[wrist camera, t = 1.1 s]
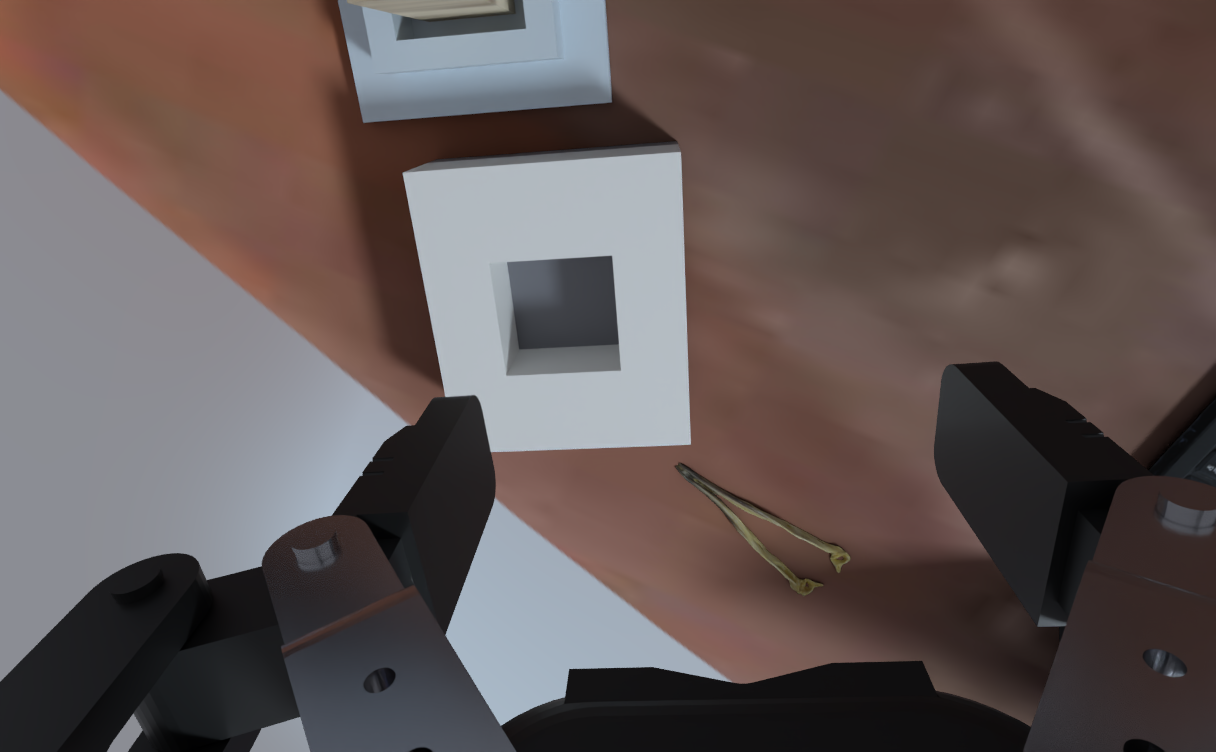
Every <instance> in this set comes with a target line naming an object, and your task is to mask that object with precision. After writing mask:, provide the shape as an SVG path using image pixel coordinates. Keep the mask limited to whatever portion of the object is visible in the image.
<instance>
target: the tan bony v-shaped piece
mask: <svg viewBox="0 0 1216 752" xmlns="http://www.w3.org/2000/svg"><path fill="white" fill-rule="evenodd" d="M676 468H677V470H678V471H679V472H680V474H681V475H682V476H683V477H684V478H685V479H686V480H687V481H688V482H690V483H691V484H692V485H694V486H695V487H696V488H697V489H699V490H700V491H701V492H702V493H704V494H705V495H706V496H707V497H708V498H709V499H710V500H711V501H712V502H714V503H715V504H716V505H717V506H718V507H719V508H720V509H721V511H722V512H723V513H724V514H725V515H726V517H727V518H728V519H729V520H730V521H731V523H732V524H733V526H734V527H735V528H736V530H737V531H738V532H739V533H740V534H741V535H742V536H743V537H744V538H745V539H746V540H747V541H748V543H749V544H750V545H751V546H752V547H753V548H754V549H755V550H756V551H757V552H758V553H759V554H760V555H761V556H762V557H763V558H764V559H765V560H767V561H768V562H769V563H770V564H771V565H773V566H774V567H775V568H776V569H777V570H778V571H779V572H780V573H781V574H782V575H783V576H784V577H785V578H786V579H789V582H790V586H791V588H792V589H793V590H795V591H796V592H797V593H798V594H799V593H800V594H801V595H803V596H805V595H807V594H809V593H811V592H812V591H813V589H814V588H815V587H820V586H822V587H823V584H822V583H816V582H813V581H811V580H810V579H804V580H801V579H799V578H797V577H796V576H795V575H794V574H793V573H792V572H791V571H790V570H789V569H788V568H787V567H786V566H785V565H784V564H783V563H782V562H781V561H780V560H779V559H777V558H776V557H775V556H774V555H772V554H771V553H770V552H768V551H767V550H766V548H765V546H764V545H763V544H762V543H761V542H760V541H759V540H758V538H757V537H756V536H755V535H754V534H753V533H752V532H751V531H750V530H749V529H748V528H747V527H746V526H745V525H744V524H743V523H742V521H741V520H740V519H739V518H738V517H737V516H736V515H735V514H734V513H733V512H732V511H731V510H730V509H729V508H728V507H727V506H726V505H725V504H724V503H723V502H722V501H721V499H718V498H717V497H716V496H715V495H714V494H717V495H720V496H722V497H723V498H724V499H726V500H728V501H729V502H731V503H732V504H734V505H735V506H737V507H739V508H741V509H743V510H744V511H746V512H748V513H750V514H753V515H755V516H757V517H759V518H762V519H765V520H768V521H770V522H771V523H773V524H775V525H778V526H780V527H782V528H784V529H786V530H787V531H788V532H789V533H791V534H792V535H794V536H796V537H797V538H799V539H802V540H805V541H807V542H808V543H810V544H812V545H814V546H816V547H818V548H820V549H822V550H824V551H825V552H827V553H831V557H830V559H831V562H832V563H833V564H834V566H835V568H836V571H837V572H838V573H840V572H841V567H842V565H843V564H845V563H847V562H848V561H850V556H849V555H848V554H847V553H846V552H845V551H843V550H842V548H840V547H839V546H834V545H831V544H828V543H826V542H824V541H822V540H820V539H818V538H816V537H814V536H812V535H811V534H809V533H807V532H805V531H803V530H801V529H799V528H798V527H795V526H793V525H791V524H790V523H788V522H786V521H784V520H781V519H779V518H776V517H774V516H772V515H770V514H768V513H766V512H763V511H761V510H760V509H758V508H756V507H754V506H753V505H752V504H750V503H748V502H745V501H743V500H741V499H739V498H737V497H735V496H733V495H731V494H729V493H728V492H726V491H724V490H722V489H721V488H719V487H717V486H716V485H714V484H713V483H711V482H709V481H708V480H706V479H704V478H703V477H701V476H699V475H698V474H697V473H695V472H694V471H692V470H691V469H689V468H688V467H686V466H685V465H683V464H681V463H679V464H678V465H677V466H676ZM840 556H843V557H844V559H843V560H838V559H835V558H839V557H840ZM806 583H808V585H809V586H808V587H806V586H805V585H806Z"/></svg>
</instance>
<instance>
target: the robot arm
mask: <svg viewBox="0 0 1216 752" xmlns="http://www.w3.org/2000/svg"><path fill="white" fill-rule="evenodd" d="M934 459H935V466H936V470H937V474H938V477H939V479H940V482H941V483H942V485H943V487H944V488H945V490H946V491H947V492H948V494H949V495H950V497H951V498H952V500H953V501H954V503H955V504H956V506H957V507H958V509H959V510H960V512H961V513H962V515H963V516H964V518H965V519H966V521H967V522H968V524H969V525H970V527H971V528H972V530H973V531H974V533H975V534H976V536H977V537H978V539H979V540H980V542H981V543H982V545H983V546H984V548H985V549H986V551H987V552H988V554H989V555H990V557H991V558H992V560H993V561H994V563H995V564H996V566H997V567H998V569H999V570H1000V572H1001V573H1002V575H1003V576H1004V578H1005V579H1006V581H1007V582H1008V584H1009V585H1010V587H1011V588H1012V590H1013V591H1014V593H1015V594H1016V596H1017V597H1018V599H1019V600H1020V602H1021V603H1022V605H1023V606H1024V608H1025V609H1026V610H1027V612H1028V613H1029V615H1030V616H1031V618H1032V619H1033V621H1034V622H1035V624H1036V625H1037V627H1052V626H1065V629H1064V632H1063V635H1062V638H1061V641H1060V644H1059V647H1058V650H1057V653H1056V656H1055V659H1054V662H1053V665H1052V667H1051V670H1050V673H1049V676H1048V679H1047V682H1046V685H1045V688H1044V691H1043V694H1042V697H1041V700H1040V703H1039V706H1038V709H1037V711H1036V714H1035V717H1034V720H1033V723H1032V726H1031V727H1030V726H1028V725H1026V724H1025V723H1023V722H1021V721H1019V720H1017V719H1015V718H1013V717H1011V716H1009V715H1007V714H1005V713H1003V712H1001V711H998V710H996V709H994V708H991V707H989V706H986V705H984V704H981V703H978V702H976V701H973V700H970V699H967V698H963V697H959V696H956V695H952V694H949V693H944V692H939V691H935V689H934V687H933V684H932V682H931V680H930V677H929V675H928V673H927V671H926V668H925V666H924V664H923V662H922V661H899V662H856V663H830V664H826V665H822V666H818V667H814V668H810V669H806V670H802V671H798V672H794V673H790V674H786V675H782V676H778V677H774V678H770V679H766V680H762V681H758V682H754V683H748V684H738V683H731V682H726V681H721V680H716V679H711V678H706V677H700V676H695V675H689V674H685V673H680V672H675V671H669V670H664V669H659V668H654V667H644V668H643V667H642V668H598V669H569V675H568V682H567V689H566V696H565V698H561V699H558V700H553V701H551V702H548V703H545V704H542V705H540V706H537V707H534V708H532V709H530V710H529V711H526V712H524V713H522V714H520V715H518V716H516V717H515V718H513V719H511V720H510V721H508V722H506V723H505V724H503V725H502V726H500V724H499V723H498V721H497V719H496V718H495V716H494V714H493V713H492V711H491V709H490V708H489V706H488V705H487V703H486V701H485V700H484V698H483V696H482V695H481V693H480V692H479V690H478V688H477V687H476V685H475V683H474V682H473V680H472V678H471V677H470V675H469V673H468V672H467V670H466V669H465V667H464V665H463V664H462V662H461V660H460V659H459V657H458V655H457V654H456V652H455V651H454V649H453V647H452V646H451V644H450V643H449V641H448V639H447V637H446V636H445V634H446V631H447V629H448V626H449V623H450V621H451V618H452V615H453V612H454V610H455V606H456V604H457V601H458V599H459V596H460V593H461V591H462V587H463V585H464V582H465V580H466V577H467V574H468V572H469V569H470V566H471V563H472V561H473V558H474V555H475V553H476V550H477V547H478V544H479V542H480V539H481V536H482V534H483V531H484V528H485V525H486V522H487V520H488V517H489V515H490V512H491V509H492V506H493V503H494V499H495V488H496V481H495V471H494V465H493V460H492V455H491V451H490V446H489V441H488V436H487V431H486V426H485V421H484V416H483V411H482V407H481V404H480V401H479V399H478V397H477V396H475V395H468V396H453V397H437V398H433V399H432V400H431V402H430V403H429V405H428V406H427V408H426V409H425V411H424V412H423V414H422V415H421V417H420V418H419V420H418V421H417V423H416V425H412V426H405V427H404V428H403V429H401V430H400V431H398V432H397V433H396V434H394V435H393V436H391V437H390V438H389V439H387V440H386V441H385V442H384V443H383V444H382V446H381V447H380V449H379V450H378V451H377V453H376V454H375V456H374V457H373V462H370V463H369V464H368V465H367V467H366V468H365V470H364V471H363V476H360V477H359V478H358V479H357V481H356V482H355V484H354V485H353V487H352V488H351V489H350V491H349V492H348V494H347V495H346V496H345V498H344V499H343V501H342V502H341V503H340V505H339V506H338V508H337V509H336V511H335V512H334V513H333V515H332V516H328V517H323V518H319V519H315V520H312V521H309V522H306V523H304V524H302V525H300V526H298V527H296V528H294V529H292V530H290V531H288V532H287V533H285V534H284V535H282V536H281V537H280V538H279V539H277V540H276V541H275V542H274V543H273V544H272V545H271V546H270V547H269V549H268V550H267V551H266V553H265V555H264V557H263V560H262V566H261V567H258V568H254V569H250V570H246V571H242V572H238V573H235V574H230V575H226V576H222V577H218V578H214V579H210V580H206V578H205V576H204V574H203V572H202V569H201V567H200V565H199V562H198V561H197V560H196V559H195V558H194V557H193V556H190V555H187V554H180V553H174V554H164V555H160V556H155V557H151V558H148V559H145V560H142V561H139V562H137V563H134V564H132V565H129V566H127V567H125V568H123V569H121V570H119V571H118V572H116V573H114V574H112V575H111V576H109V577H108V578H106V579H105V580H103V581H102V582H100V583H99V584H98V585H97V586H95V587H94V588H93V589H92V590H91V591H90V592H89V593H88V594H87V595H86V596H85V597H84V598H83V599H82V600H81V601H80V602H79V603H78V604H77V605H76V606H75V607H74V608H73V609H72V610H71V611H70V612H69V613H68V614H67V615H66V616H65V617H64V618H63V619H62V620H61V621H60V622H59V623H58V624H57V625H56V626H55V627H54V628H53V629H52V630H51V631H50V632H49V633H48V634H47V635H46V636H45V637H44V638H43V639H42V640H41V641H40V642H39V643H38V645H36V646H35V647H34V648H33V650H31V651H30V652H29V653H28V654H27V655H26V656H25V657H24V658H23V659H22V660H21V661H20V662H19V663H18V664H17V666H16V667H14V669H13V670H12V671H11V672H10V673H9V674H8V675H7V676H6V677H5V678H4V679H3V680H2V681H1V682H0V752H107V750H108V748H109V747H110V745H111V743H112V742H113V740H114V739H115V738H116V736H117V735H118V733H119V732H120V731H121V729H122V728H123V727H124V725H125V724H126V723H127V721H128V720H129V719H130V717H131V716H132V714H133V713H134V715H135V717H136V719H137V720H138V722H139V723H140V726H141V728H142V729H143V731H142V733H141V734H140V735H139V737H138V738H137V739H136V741H135V742H134V744H133V745H132V747H131V748H130V749H129V751H128V752H250V749H251V748H252V746H253V744H254V742H255V740H256V738H257V736H258V734H259V733H260V730H261V728H264V727H268V726H271V725H274V724H277V723H281V722H284V721H287V720H291V719H294V718H297V717H301V720H302V724H303V727H304V731H305V735H306V738H307V741H308V745H309V748H310V752H1216V487H1213V486H1210V485H1207V484H1204V483H1200V482H1196V481H1192V480H1187V479H1182V478H1176V477H1168V476H1154V475H1153V474H1152V473H1151V472H1149V471H1148V470H1147V469H1146V468H1145V467H1143V466H1142V465H1141V464H1140V463H1139V462H1137V461H1136V460H1135V459H1134V458H1133V457H1131V456H1130V455H1129V454H1128V453H1127V452H1126V451H1124V450H1123V449H1122V448H1121V447H1120V446H1118V445H1117V444H1116V443H1115V442H1114V441H1112V440H1111V439H1110V438H1109V437H1104V435H1103V432H1102V431H1100V430H1099V429H1098V428H1097V427H1096V426H1095V425H1093V424H1092V423H1091V422H1087V421H1086V418H1085V417H1084V416H1083V415H1081V414H1080V413H1079V412H1078V411H1077V410H1075V409H1074V408H1073V407H1072V406H1071V405H1069V404H1068V403H1067V402H1066V401H1063V400H1061V399H1059V398H1057V397H1054V396H1052V395H1050V394H1048V393H1045V392H1043V391H1041V390H1039V389H1036V388H1028V387H1027V386H1026V385H1025V384H1024V383H1023V382H1022V381H1020V380H1019V379H1018V378H1017V377H1016V376H1015V375H1014V374H1012V373H1011V372H1010V371H1009V370H1008V369H1007V368H1006V367H1005V366H1003V365H1002V364H1001V363H1000V362H982V363H967V364H951V365H948V366H947V367H946V368H945V370H944V372H943V375H942V380H941V388H940V398H939V407H938V416H937V425H936V434H935V443H934Z"/></svg>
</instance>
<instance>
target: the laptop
mask: <svg viewBox="0 0 1216 752" xmlns="http://www.w3.org/2000/svg"><path fill="white" fill-rule="evenodd" d="M1149 472H1151V473H1152V474H1153V475H1154V476H1168V477H1176V478H1182V479H1187V480H1192V481H1196V482H1200V483H1204V484H1207V485H1210V486H1213V487H1216V399H1215V400H1214V401H1213V402H1212V403H1211V404H1210V405H1209V406H1208V407H1207V408H1206V409H1205V410H1204V411H1203V412H1202V413H1201V414H1200V416H1199V417H1198V418H1197V419H1196V420H1195V421H1194V422H1193V424H1192V425H1191V426H1190V427H1189V428H1188V429H1187V430H1186V431H1185V432H1184V433H1183V434H1182V435H1181V436H1180V437H1179V438H1178V439H1177V440H1176V441H1175V442H1174V444H1173V445H1172V446H1171V447H1170V448H1169V449H1168V450H1167V451H1166V452H1165V453H1164V455H1163V456H1162V457H1161V458H1160V459H1159V460H1158V461H1157V462H1156V463H1155V464H1154V465H1153V466H1152V467H1151V468H1150V470H1149ZM1064 629H1065V626H1059V640H1060V641H1061V638H1062V635H1063V632H1064Z"/></svg>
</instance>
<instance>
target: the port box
mask: <svg viewBox="0 0 1216 752" xmlns="http://www.w3.org/2000/svg"><path fill="white" fill-rule="evenodd" d="M403 178H404V183H405V188H406V193H407V198H408V204H409V209H410V214H411V219H412V224H413V230H414V235H415V240H416V245H417V251H418V256H419V261H420V266H421V271H422V277H423V282H424V287H425V292H426V297H427V303H428V308H429V313H430V318H431V324H432V329H433V334H434V339H435V344H436V350H437V355H438V360H439V365H440V371H441V376H442V381H443V386H444V391H445V397H453V396H468V395H475V396H477V397H478V399H479V401H480V404H481V407H482V411H483V416H484V421H485V426H486V431H487V436H488V441H489V446H490V451H491V452H506V451H533V450H560V449H587V448H614V447H640V446H667V445H691V439H690V409H689V379H688V348H687V318H686V288H685V258H684V228H683V198H682V168H681V151H680V148H679V145H678V142H677V141H672V142H659V143H646V144H633V145H620V146H607V147H593V148H580V149H567V150H554V151H541V152H528V153H515V154H501V155H488V156H475V157H462V158H449V159H436V160H434V161H431V162H428V163H426V164H423V165H421V166H418V167H416V168H413V169H411V170H408V171H406V172H403Z"/></svg>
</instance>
